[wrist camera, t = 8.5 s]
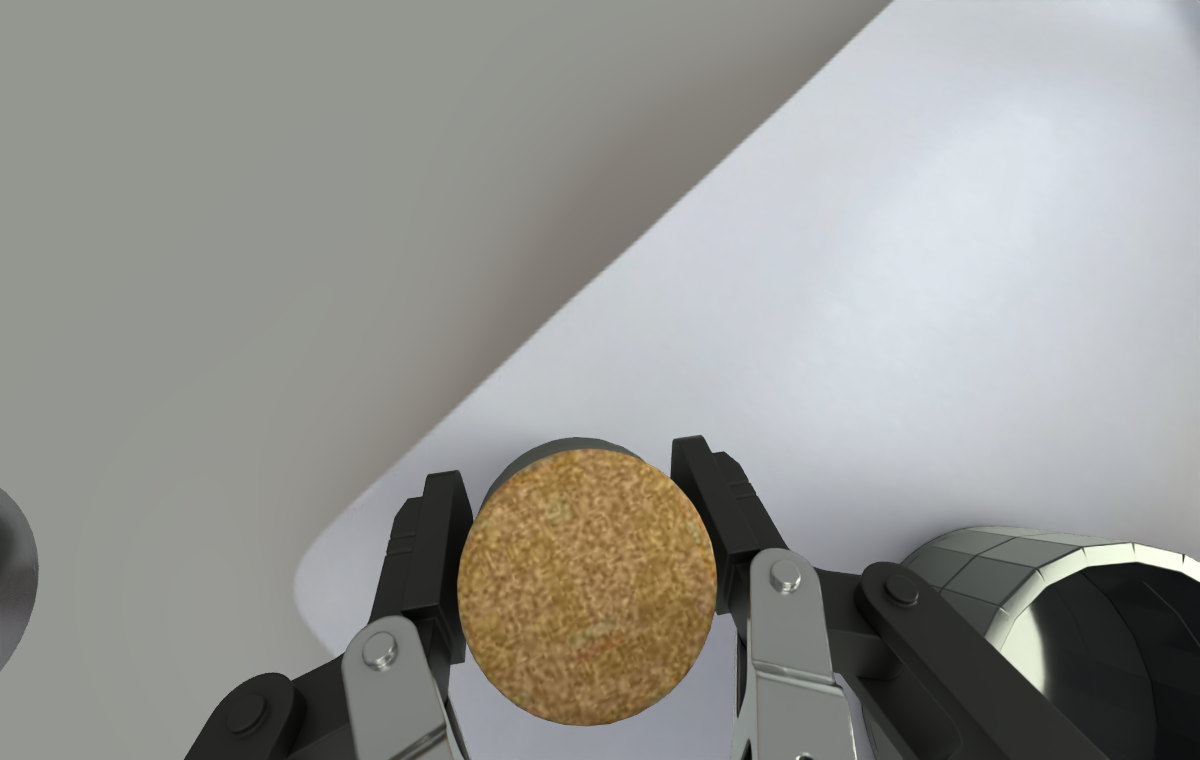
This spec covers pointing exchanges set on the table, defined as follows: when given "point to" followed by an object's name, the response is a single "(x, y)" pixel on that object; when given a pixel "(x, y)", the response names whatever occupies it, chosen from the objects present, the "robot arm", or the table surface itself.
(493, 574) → the bottle
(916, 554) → the pot
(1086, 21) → the table surface
